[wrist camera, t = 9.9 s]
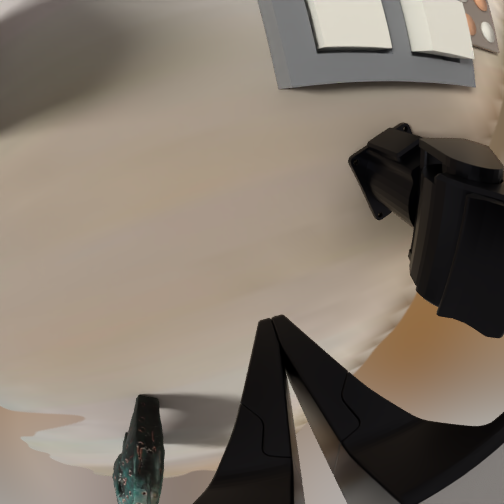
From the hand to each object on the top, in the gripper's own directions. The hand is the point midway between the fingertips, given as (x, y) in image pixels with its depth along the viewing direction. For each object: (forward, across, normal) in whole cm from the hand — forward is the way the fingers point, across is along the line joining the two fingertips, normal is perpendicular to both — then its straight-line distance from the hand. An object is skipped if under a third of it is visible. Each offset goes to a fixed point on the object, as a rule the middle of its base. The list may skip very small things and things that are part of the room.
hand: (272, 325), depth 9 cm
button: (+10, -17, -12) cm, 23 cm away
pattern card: (+13, -27, -16) cm, 34 cm away
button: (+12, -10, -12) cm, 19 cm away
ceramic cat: (+13, +22, +29) cm, 39 cm away
